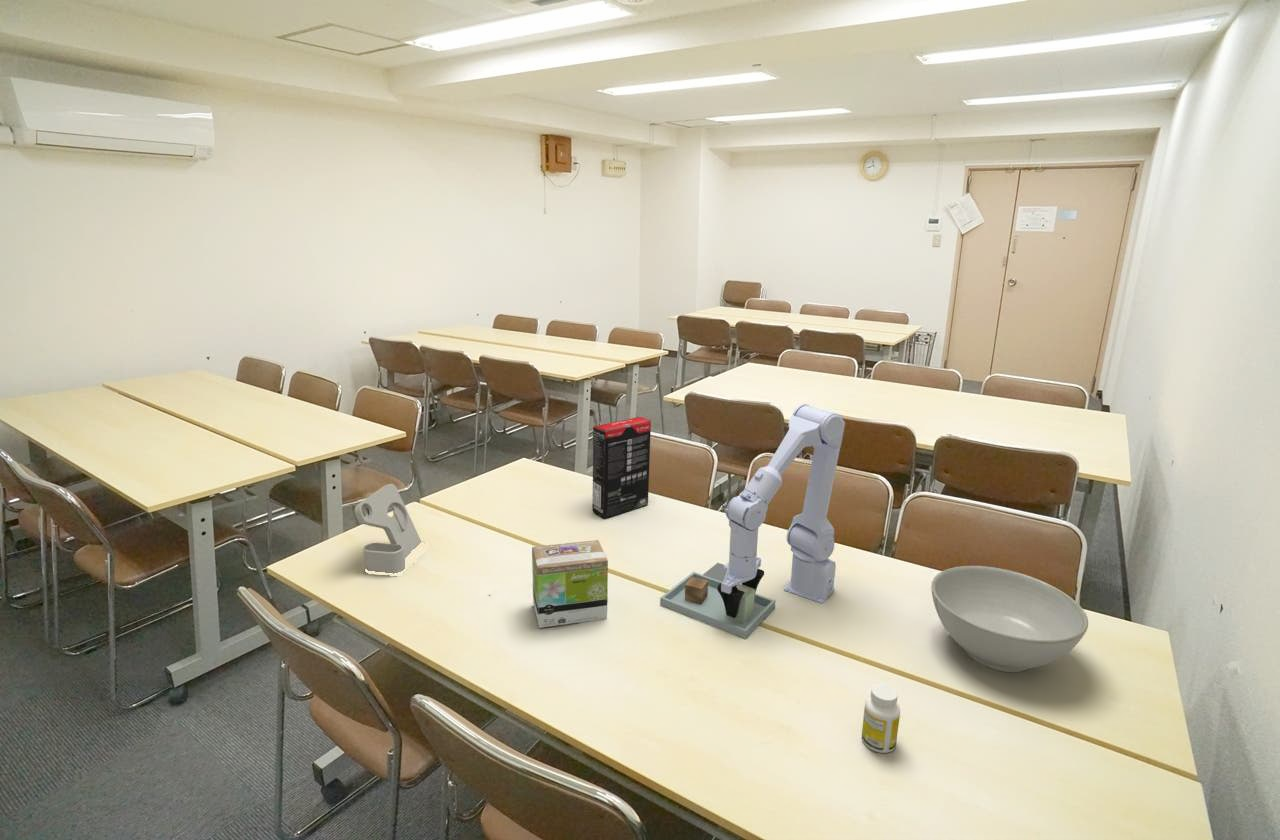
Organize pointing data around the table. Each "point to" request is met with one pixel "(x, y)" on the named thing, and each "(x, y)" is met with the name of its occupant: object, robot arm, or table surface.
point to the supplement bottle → (881, 719)
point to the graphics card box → (621, 466)
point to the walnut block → (696, 590)
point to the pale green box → (745, 604)
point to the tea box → (569, 583)
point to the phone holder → (388, 530)
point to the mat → (716, 572)
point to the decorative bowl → (1007, 617)
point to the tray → (716, 608)
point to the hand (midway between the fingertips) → (739, 607)
